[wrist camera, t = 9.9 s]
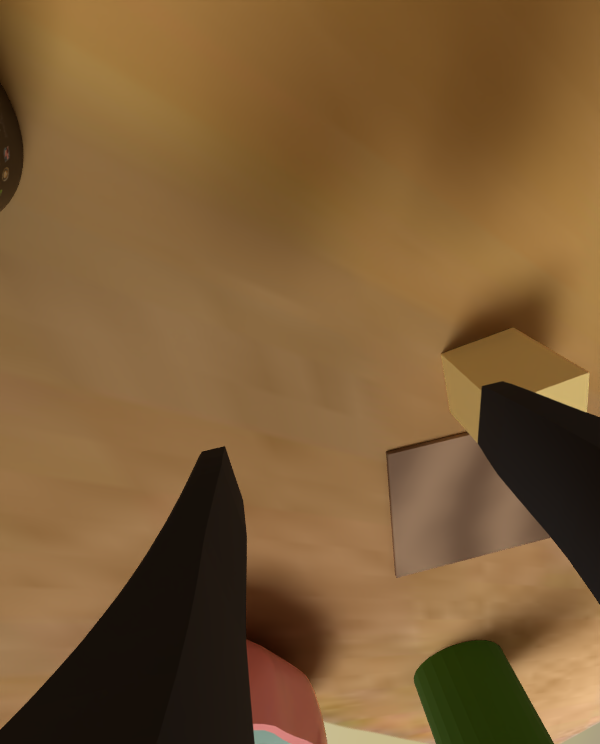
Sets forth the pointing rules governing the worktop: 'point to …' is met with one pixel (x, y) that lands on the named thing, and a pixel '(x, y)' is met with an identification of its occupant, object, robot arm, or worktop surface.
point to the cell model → (282, 701)
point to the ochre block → (509, 374)
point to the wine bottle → (476, 698)
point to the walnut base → (451, 506)
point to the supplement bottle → (9, 150)
